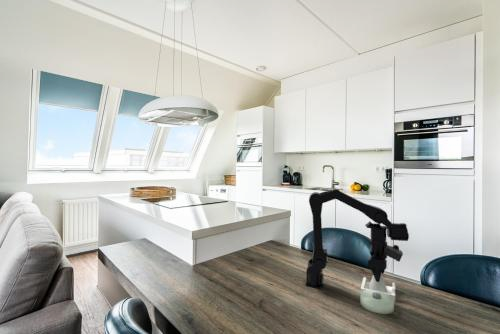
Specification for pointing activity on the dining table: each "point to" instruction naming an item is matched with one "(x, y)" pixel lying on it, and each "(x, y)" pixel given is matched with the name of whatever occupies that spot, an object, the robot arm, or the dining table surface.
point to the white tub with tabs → (377, 298)
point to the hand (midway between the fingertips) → (378, 277)
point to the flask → (378, 285)
